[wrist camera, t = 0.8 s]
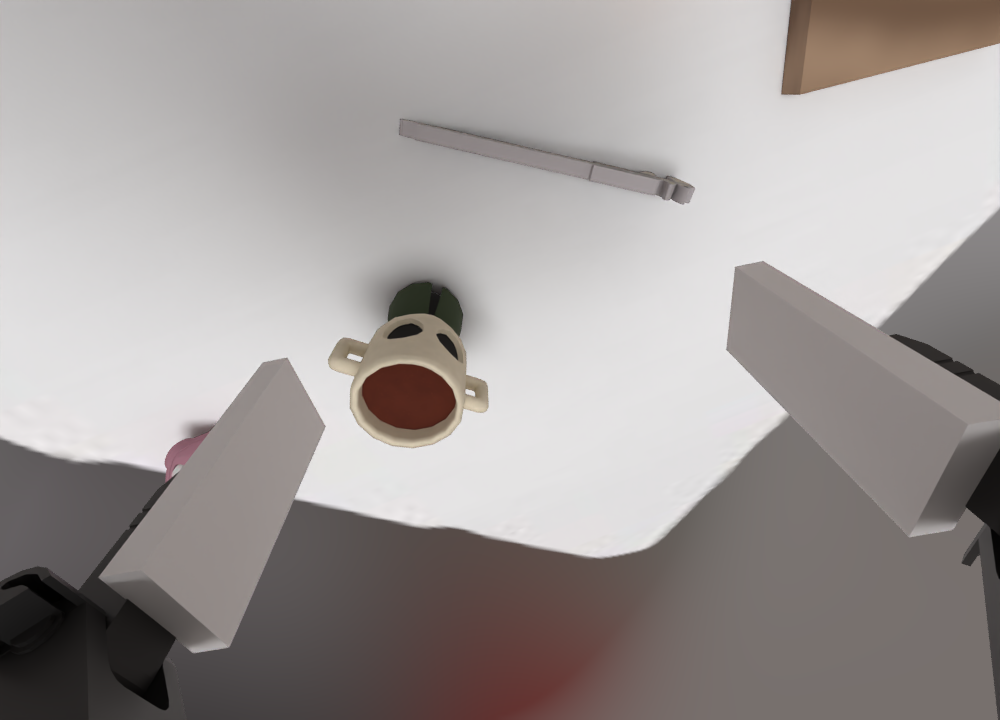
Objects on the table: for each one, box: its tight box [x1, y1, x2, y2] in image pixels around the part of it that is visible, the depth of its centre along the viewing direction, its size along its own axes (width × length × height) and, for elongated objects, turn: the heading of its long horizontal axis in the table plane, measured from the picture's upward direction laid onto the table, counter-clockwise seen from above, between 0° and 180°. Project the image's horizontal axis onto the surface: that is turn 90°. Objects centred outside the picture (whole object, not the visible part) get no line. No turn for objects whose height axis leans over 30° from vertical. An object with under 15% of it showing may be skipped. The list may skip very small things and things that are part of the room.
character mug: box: [328, 282, 488, 448], centre depth 32 cm, size 11×7×13 cm, turn 67°
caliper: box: [399, 119, 695, 205], centre depth 29 cm, size 20×1×6 cm, turn 79°
